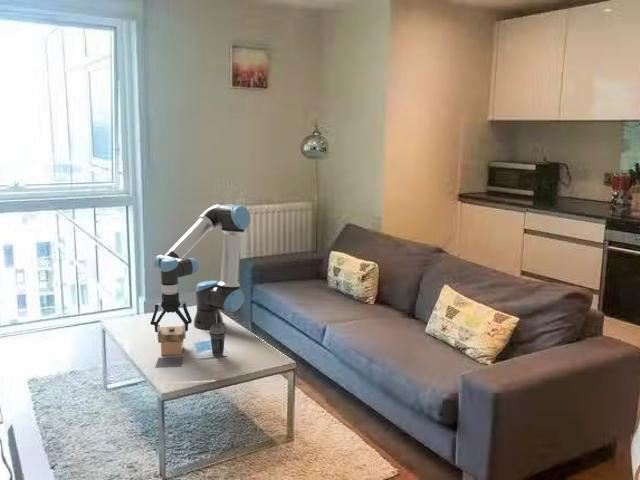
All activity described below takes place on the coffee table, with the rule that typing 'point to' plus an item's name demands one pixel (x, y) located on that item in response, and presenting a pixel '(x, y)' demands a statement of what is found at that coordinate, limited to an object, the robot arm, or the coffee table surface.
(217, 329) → the beverage cup
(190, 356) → the coffee table surface
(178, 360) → the mat
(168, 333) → the lid
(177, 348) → the peach open box
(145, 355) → the coffee table surface
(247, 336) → the coffee table surface
